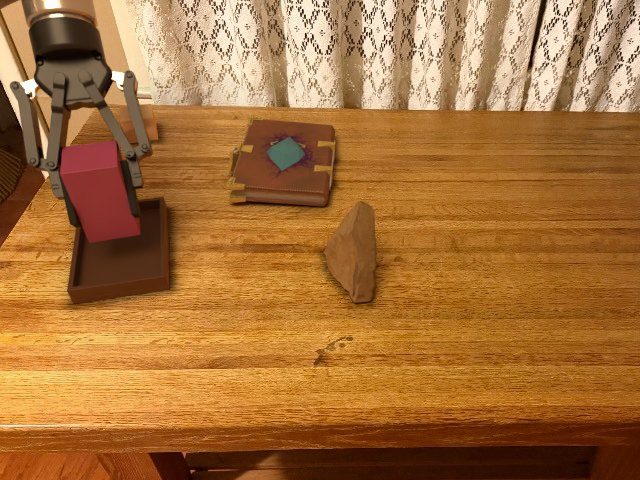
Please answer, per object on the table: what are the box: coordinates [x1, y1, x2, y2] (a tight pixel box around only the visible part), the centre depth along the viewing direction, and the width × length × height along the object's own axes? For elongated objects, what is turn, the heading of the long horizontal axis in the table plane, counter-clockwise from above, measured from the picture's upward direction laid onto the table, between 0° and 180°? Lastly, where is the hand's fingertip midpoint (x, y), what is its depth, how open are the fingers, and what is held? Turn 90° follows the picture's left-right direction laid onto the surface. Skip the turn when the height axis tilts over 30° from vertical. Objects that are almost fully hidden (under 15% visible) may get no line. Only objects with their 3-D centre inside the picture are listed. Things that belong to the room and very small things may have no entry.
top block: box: [60, 140, 140, 243], centre depth 72 cm, size 6×6×10 cm
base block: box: [119, 103, 159, 144], centre depth 99 cm, size 5×5×4 cm
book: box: [225, 115, 336, 207], centre depth 94 cm, size 16×25×5 cm, turn 1°
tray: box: [66, 196, 171, 305], centre depth 78 cm, size 17×11×2 cm, turn 16°
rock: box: [323, 200, 377, 304], centre depth 75 cm, size 11×9×10 cm
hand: (106, 220), depth 71 cm, fingers closed on top block, 6 cm apart
